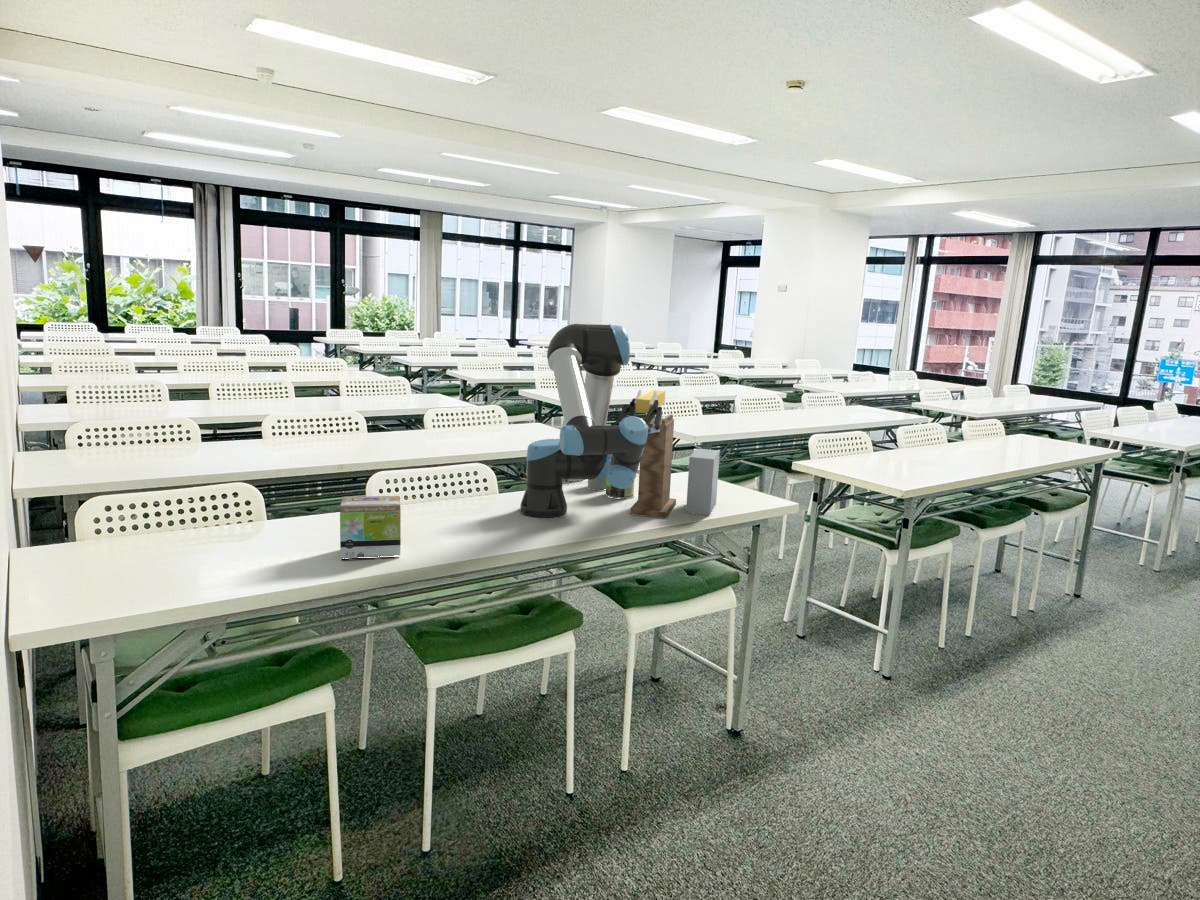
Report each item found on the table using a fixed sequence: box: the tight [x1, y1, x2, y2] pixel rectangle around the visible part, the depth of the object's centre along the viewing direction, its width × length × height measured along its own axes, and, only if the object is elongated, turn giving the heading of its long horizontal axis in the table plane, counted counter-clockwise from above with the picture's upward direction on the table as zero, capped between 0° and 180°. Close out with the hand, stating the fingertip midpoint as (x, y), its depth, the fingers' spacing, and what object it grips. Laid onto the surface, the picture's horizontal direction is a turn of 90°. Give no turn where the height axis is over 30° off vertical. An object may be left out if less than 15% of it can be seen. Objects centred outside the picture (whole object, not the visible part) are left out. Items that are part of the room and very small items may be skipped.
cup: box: [587, 475, 607, 491], centre depth 275 cm, size 8×8×10 cm
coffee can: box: [605, 455, 635, 500], centre depth 264 cm, size 10×10×14 cm
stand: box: [629, 413, 677, 519], centre depth 246 cm, size 12×18×32 cm, turn 164°
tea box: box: [339, 495, 402, 559], centre depth 195 cm, size 15×10×15 cm, turn 106°
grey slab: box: [685, 448, 721, 516], centre depth 251 cm, size 8×16×19 cm, turn 164°
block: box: [635, 390, 666, 414], centre depth 229 cm, size 4×26×4 cm, turn 165°
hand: (648, 394), depth 223 cm, fingers closed on block, 4 cm apart
